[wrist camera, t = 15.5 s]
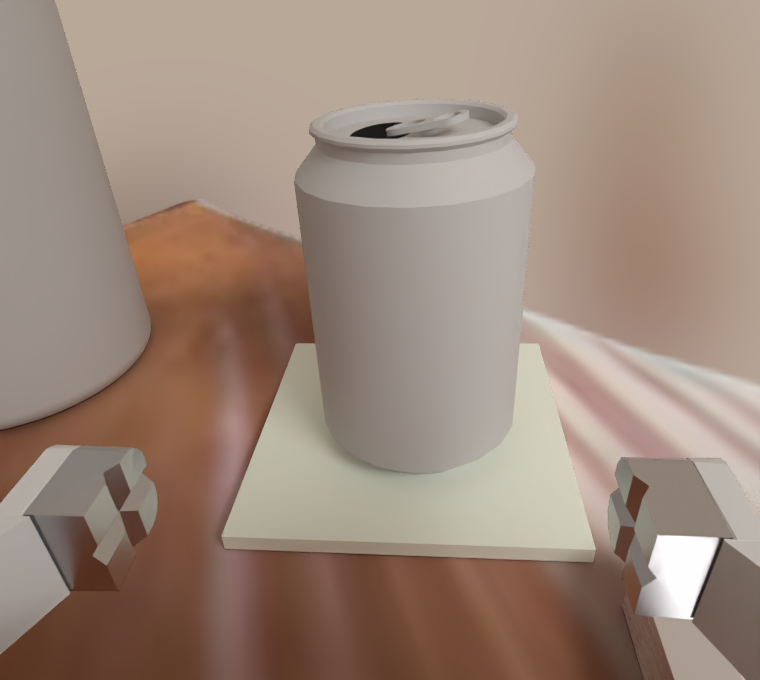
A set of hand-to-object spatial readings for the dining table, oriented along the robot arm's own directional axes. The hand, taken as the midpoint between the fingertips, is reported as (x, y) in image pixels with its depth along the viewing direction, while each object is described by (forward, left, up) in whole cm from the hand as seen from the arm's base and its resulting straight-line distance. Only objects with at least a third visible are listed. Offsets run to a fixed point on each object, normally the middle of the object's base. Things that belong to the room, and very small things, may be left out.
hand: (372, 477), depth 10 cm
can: (0, +11, -8) cm, 14 cm away
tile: (0, +11, -9) cm, 14 cm away
